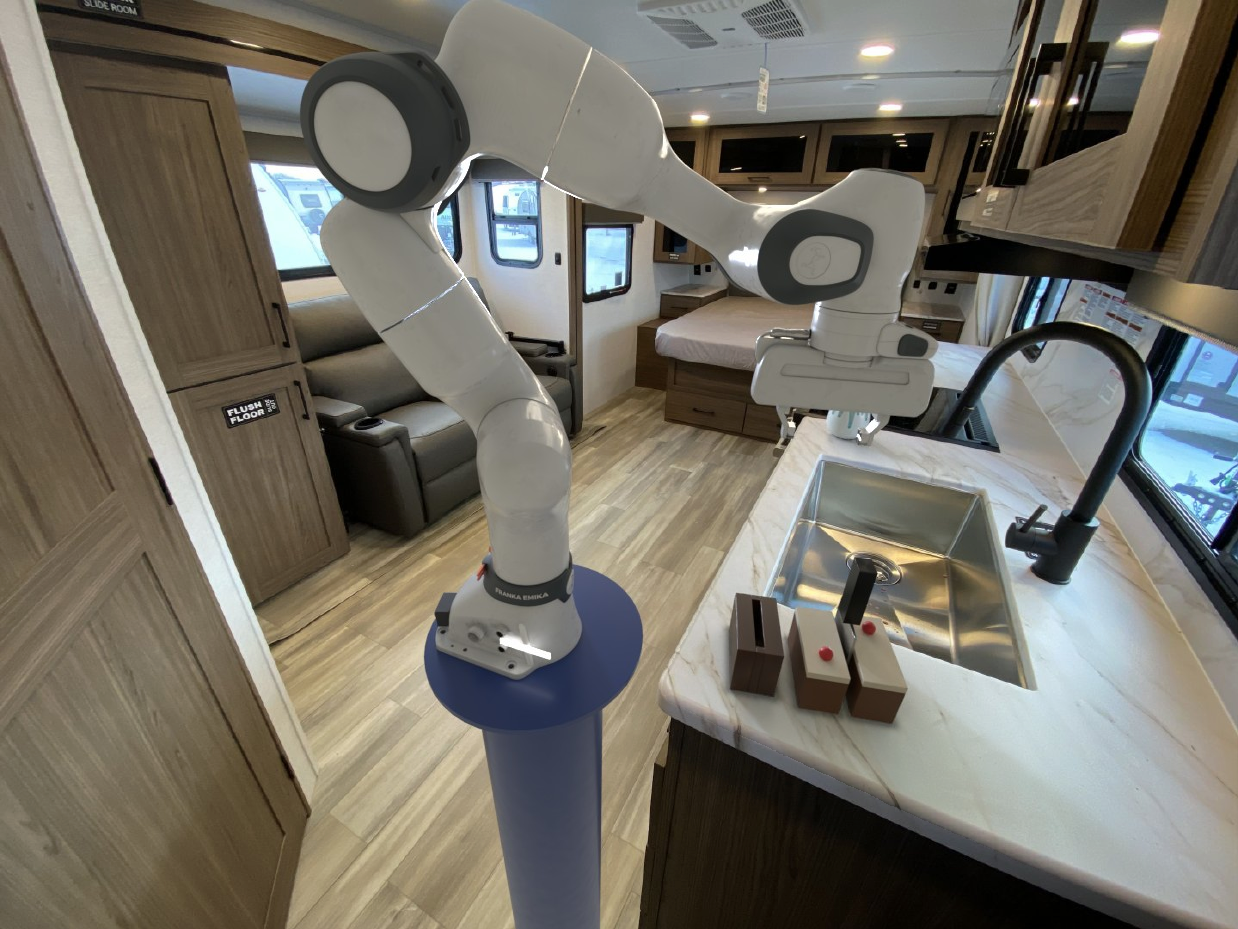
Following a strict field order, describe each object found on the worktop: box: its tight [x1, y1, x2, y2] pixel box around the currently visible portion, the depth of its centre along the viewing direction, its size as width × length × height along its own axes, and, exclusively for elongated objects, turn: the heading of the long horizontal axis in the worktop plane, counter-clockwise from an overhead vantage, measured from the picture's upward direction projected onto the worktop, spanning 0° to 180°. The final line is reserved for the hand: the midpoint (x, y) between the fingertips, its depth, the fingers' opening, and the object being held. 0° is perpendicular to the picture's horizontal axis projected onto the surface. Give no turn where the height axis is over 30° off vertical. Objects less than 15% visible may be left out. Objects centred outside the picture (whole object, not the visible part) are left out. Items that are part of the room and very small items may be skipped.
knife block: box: [728, 592, 785, 698], centre depth 71 cm, size 6×11×8 cm, turn 170°
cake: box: [786, 605, 909, 725], centre depth 69 cm, size 12×12×8 cm
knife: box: [834, 556, 879, 667], centre depth 68 cm, size 2×8×19 cm, turn 169°
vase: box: [825, 410, 871, 440], centre depth 143 cm, size 12×12×18 cm
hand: (824, 440), depth 64 cm, fingers open, 8 cm apart
